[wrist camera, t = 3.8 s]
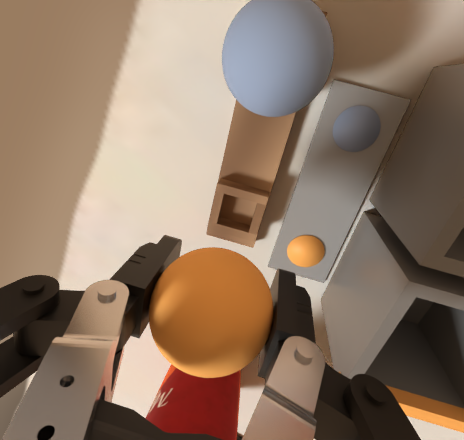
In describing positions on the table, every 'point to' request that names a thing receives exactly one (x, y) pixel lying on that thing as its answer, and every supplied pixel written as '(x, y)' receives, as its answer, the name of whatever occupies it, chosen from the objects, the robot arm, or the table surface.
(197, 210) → the table surface
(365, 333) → the tube
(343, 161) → the card
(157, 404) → the coffee cup
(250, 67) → the blue ball
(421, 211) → the tube
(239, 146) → the walnut seat rail
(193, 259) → the orange ball
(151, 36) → the table surface
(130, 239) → the table surface
